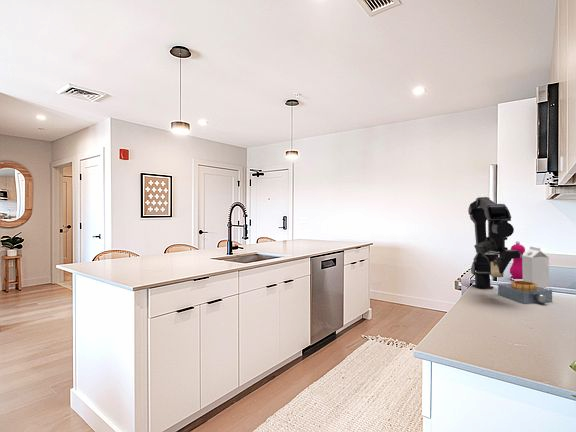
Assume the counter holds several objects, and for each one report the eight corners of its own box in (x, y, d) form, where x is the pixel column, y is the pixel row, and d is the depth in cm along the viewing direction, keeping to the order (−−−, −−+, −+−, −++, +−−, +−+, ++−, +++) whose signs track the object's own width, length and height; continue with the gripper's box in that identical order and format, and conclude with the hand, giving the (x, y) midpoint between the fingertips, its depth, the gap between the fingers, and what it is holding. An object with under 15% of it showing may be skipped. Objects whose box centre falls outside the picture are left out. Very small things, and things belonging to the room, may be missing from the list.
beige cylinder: (488, 275, 137) (488, 259, 137) (498, 274, 138) (498, 258, 138) (495, 277, 133) (495, 260, 133) (506, 276, 133) (505, 260, 133)
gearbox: (498, 294, 143) (498, 280, 143) (523, 292, 144) (523, 278, 144) (530, 306, 126) (530, 289, 126) (559, 304, 127) (558, 288, 127)
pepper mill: (524, 279, 169) (523, 240, 168) (529, 282, 162) (528, 242, 161) (507, 278, 171) (507, 240, 170) (512, 281, 164) (511, 242, 164)
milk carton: (538, 286, 153) (538, 246, 153) (549, 290, 146) (548, 248, 146) (522, 287, 154) (521, 246, 153) (532, 290, 147) (531, 248, 146)
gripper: (463, 233, 144) (464, 269, 144) (493, 237, 125) (494, 278, 126) (488, 232, 144) (488, 267, 145) (521, 236, 126) (521, 276, 126)
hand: (497, 272), depth 135 cm, fingers closed on beige cylinder, 4 cm apart
